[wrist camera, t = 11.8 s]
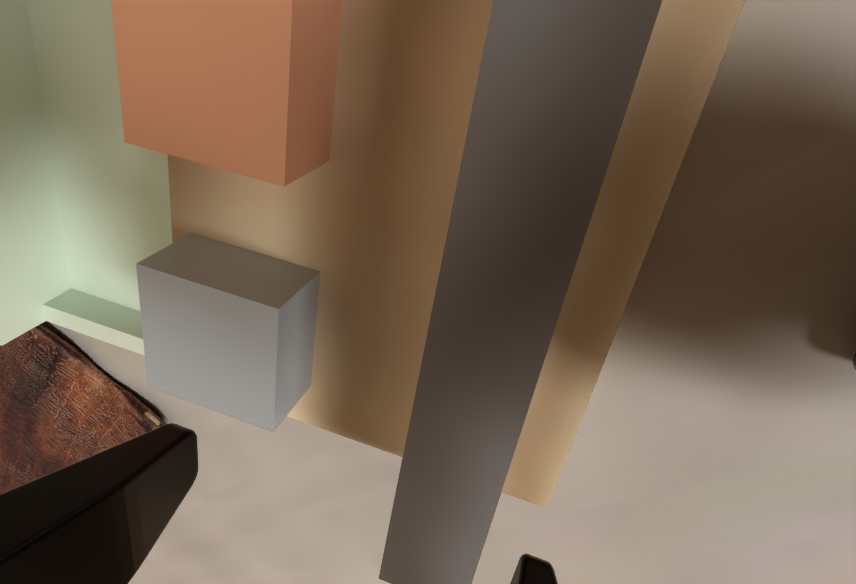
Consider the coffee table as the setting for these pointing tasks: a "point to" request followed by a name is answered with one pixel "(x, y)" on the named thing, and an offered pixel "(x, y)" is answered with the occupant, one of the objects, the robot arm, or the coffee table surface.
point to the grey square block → (228, 328)
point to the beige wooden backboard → (431, 209)
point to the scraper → (508, 263)
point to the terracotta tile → (230, 81)
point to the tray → (72, 177)
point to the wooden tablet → (59, 408)
